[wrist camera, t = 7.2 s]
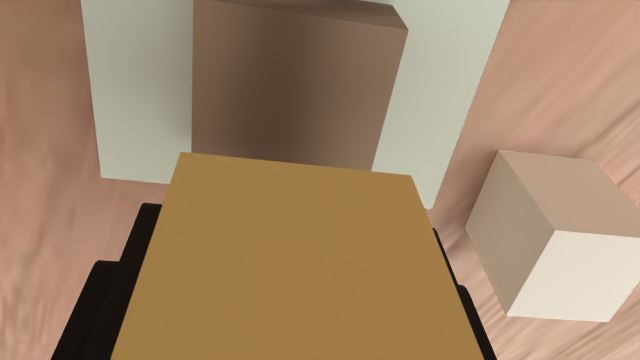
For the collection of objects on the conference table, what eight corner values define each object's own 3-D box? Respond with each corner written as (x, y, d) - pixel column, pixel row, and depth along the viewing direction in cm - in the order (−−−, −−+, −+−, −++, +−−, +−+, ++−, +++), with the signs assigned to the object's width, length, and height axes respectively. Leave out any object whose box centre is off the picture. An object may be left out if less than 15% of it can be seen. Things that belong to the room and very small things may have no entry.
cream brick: (591, 159, 24) (670, 240, 19) (548, 234, 27) (608, 322, 22) (498, 148, 23) (555, 230, 18) (464, 227, 26) (505, 315, 21)
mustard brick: (411, 175, 11) (521, 455, 6) (363, 321, 13) (410, 596, 8) (180, 152, 10) (79, 450, 5) (180, 311, 13) (116, 605, 8)
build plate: (520, -49, 18) (527, -46, 18) (428, 202, 25) (431, 209, 24) (72, -129, 16) (65, -129, 15) (105, 170, 22) (101, 177, 22)
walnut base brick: (392, 5, 18) (408, 30, 16) (355, 158, 22) (363, 197, 20) (206, -24, 17) (193, -3, 15) (201, 141, 21) (190, 180, 19)
